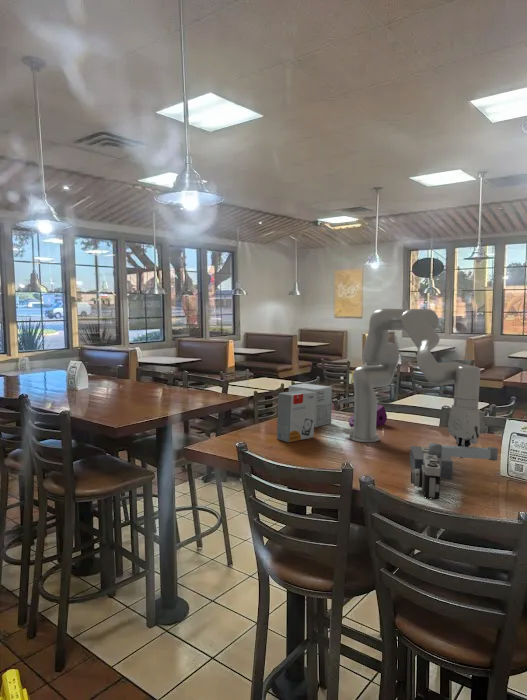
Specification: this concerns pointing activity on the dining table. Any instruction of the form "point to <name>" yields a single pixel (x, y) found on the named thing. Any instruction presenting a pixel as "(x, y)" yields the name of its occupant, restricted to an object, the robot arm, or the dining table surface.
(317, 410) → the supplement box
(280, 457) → the dining table surface
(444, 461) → the chassis
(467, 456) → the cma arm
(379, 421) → the mounting bracket
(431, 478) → the camera
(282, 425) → the hard drive box
